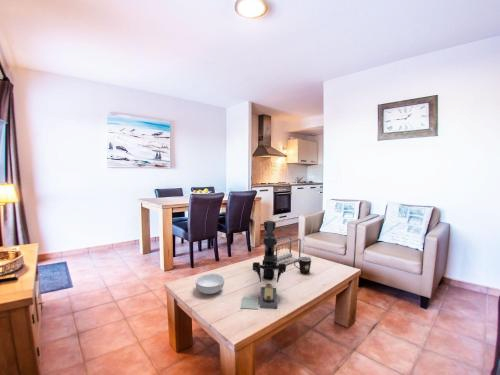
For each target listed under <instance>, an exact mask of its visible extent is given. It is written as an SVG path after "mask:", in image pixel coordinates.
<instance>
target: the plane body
mask: <svg viewBox="0 0 500 375" xmlns="http://www.w3.org/2000/svg"><path fill="white" fill-rule="evenodd" d="M265 286H273V285H272V284H271V283H269V282H268V283H265ZM265 286H261V287H260V296H259V308H261V309H262V308H263V309H278V297H277V296H278V294H277V287H273V302H264V294H265Z"/></svg>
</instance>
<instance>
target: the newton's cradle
mask: <svg viewBox="0 0 500 375" xmlns="http://www.w3.org/2000/svg"><path fill="white" fill-rule="evenodd" d="M276 240H277V244H276V245H275V255H277V261H275V262H276V265H277V266H278V263H280V262H282V261H285V260H288V259H289V258H290V259H294V260H293V261H290V262H287V263H285V264H286V266H288V265H292V264H294V262H295V261H299V257H301V250H302V249H301V248H302V247H301V245H302V244H301V243H302V240H301V238H296V237H292V236H290V235H289V236H285V237H281V238H278V239H276ZM283 241H284V242H283ZM298 241H299V242H298ZM280 242H281V243H280ZM295 242H298V243H299V244H298V258H294V257H293V253H292V248H293V247H292V244H293V243H295ZM287 245H289V246H288V247H287ZM281 246H282V248H281ZM284 246H285V248H284ZM280 248H281V249H282V250H287V248H288V251H289V252H288V251H286V253H285V252H278V251H281V250H280ZM283 248H284V249H283Z"/></svg>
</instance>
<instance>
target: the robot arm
mask: <svg viewBox="0 0 500 375" xmlns="http://www.w3.org/2000/svg"><path fill="white" fill-rule="evenodd" d="M276 228H277V226H276V222H275V221H273V220H266V221H263V229H264V232H265V233H264V237H263V240H262V242H263V243H262V244H263V245H264V256H263V260H262V264H260V262H257V261H255V262H253V263H252V271H254V272H255V273H257V276H258V279H259V283H261V282H262V279H266V280H273V279H274V278H275V270H277V278H276V283H279V279H280V277H281V275H282V274H284V273H286V271H287V265H286V264H287V263H280V262H278V264H277V265H276V262H275V261H277V257H278V254H277V255H276V254H275V249H276V245H278V242H277V240H278V239H277V238H276V237H275V234H274V232H275V229H276ZM261 269H262V270H263V276H262V277H261Z"/></svg>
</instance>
